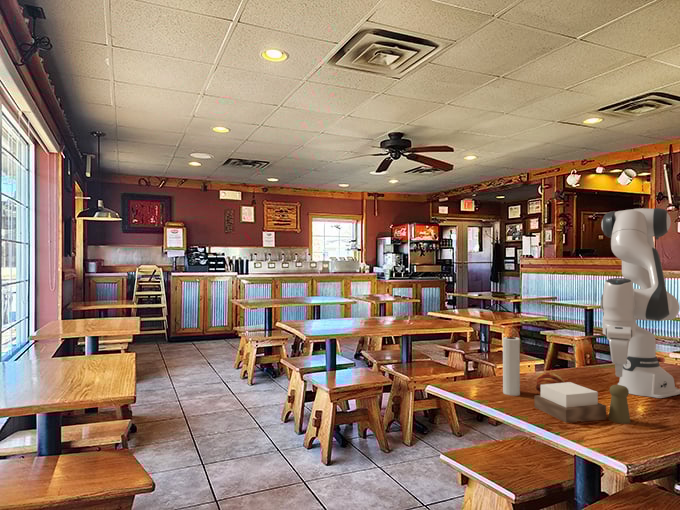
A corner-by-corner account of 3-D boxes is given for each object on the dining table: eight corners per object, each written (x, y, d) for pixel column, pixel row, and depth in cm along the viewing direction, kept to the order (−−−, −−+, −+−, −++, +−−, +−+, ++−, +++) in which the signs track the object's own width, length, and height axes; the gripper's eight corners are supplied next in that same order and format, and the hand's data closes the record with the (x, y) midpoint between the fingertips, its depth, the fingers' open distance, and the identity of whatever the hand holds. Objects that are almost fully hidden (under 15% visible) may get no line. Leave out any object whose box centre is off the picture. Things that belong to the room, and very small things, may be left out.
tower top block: (570, 393, 160) (570, 382, 160) (597, 404, 148) (597, 391, 148) (540, 396, 156) (540, 384, 156) (566, 407, 145) (566, 394, 145)
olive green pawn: (633, 424, 143) (633, 388, 143) (612, 423, 144) (612, 387, 144) (625, 417, 149) (625, 383, 149) (605, 416, 150) (605, 382, 150)
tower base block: (571, 406, 161) (571, 392, 161) (606, 421, 147) (606, 405, 147) (534, 410, 157) (534, 395, 157) (566, 425, 143) (566, 409, 143)
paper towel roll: (508, 397, 170) (508, 339, 170) (499, 392, 176) (499, 336, 176) (526, 396, 172) (525, 338, 172) (516, 391, 178) (516, 336, 178)
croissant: (554, 391, 187) (543, 373, 190) (577, 382, 181) (565, 363, 184) (533, 402, 172) (522, 382, 175) (557, 392, 166) (545, 371, 169)
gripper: (607, 325, 157) (607, 366, 157) (606, 332, 139) (606, 378, 139) (629, 326, 154) (629, 368, 153) (631, 334, 136) (631, 381, 136)
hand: (618, 373), depth 146 cm, fingers open, 8 cm apart
